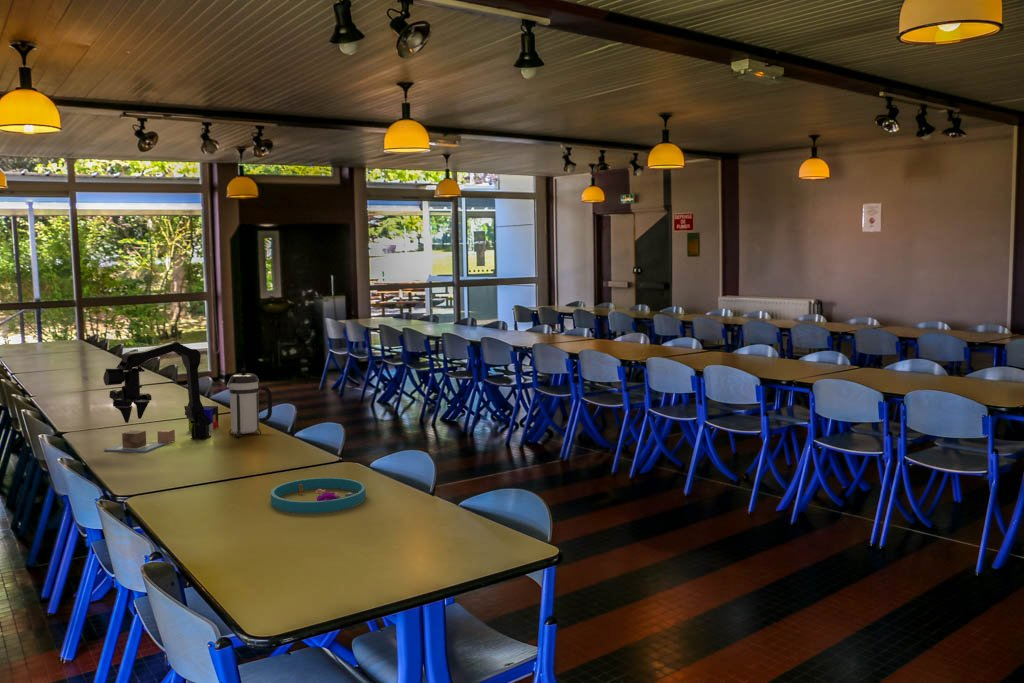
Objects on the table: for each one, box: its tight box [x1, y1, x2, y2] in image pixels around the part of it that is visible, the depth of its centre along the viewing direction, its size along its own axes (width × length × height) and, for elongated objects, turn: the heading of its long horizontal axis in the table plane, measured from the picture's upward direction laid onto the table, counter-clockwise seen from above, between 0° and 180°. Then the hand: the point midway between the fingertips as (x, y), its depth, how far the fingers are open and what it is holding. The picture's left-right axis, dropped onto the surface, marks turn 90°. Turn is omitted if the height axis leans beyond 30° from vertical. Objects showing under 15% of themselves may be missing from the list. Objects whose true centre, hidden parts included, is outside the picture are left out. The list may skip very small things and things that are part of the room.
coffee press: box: [226, 367, 273, 438], centre depth 372 cm, size 17×16×30 cm
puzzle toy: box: [188, 405, 220, 432], centre depth 384 cm, size 10×10×10 cm
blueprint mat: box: [103, 441, 168, 454], centre depth 344 cm, size 18×16×1 cm
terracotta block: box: [157, 428, 176, 444], centre depth 356 cm, size 5×5×5 cm
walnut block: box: [121, 429, 147, 448], centre depth 343 cm, size 6×6×6 cm
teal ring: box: [270, 477, 367, 514], centre depth 269 cm, size 30×30×6 cm
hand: (133, 420), depth 342 cm, fingers open, 9 cm apart
